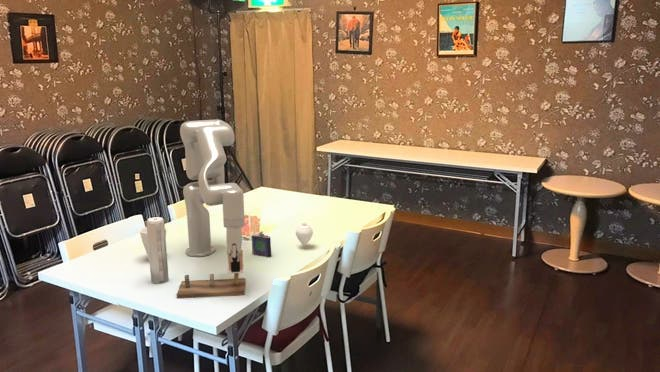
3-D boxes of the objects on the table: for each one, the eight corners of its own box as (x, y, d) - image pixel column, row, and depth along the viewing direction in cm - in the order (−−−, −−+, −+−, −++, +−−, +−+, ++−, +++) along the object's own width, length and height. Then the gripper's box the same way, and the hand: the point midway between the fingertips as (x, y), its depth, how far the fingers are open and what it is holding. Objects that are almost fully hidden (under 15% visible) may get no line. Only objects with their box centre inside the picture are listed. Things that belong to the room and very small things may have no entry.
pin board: (181, 284, 210) (180, 269, 208) (245, 281, 212) (245, 267, 211) (176, 298, 198) (175, 282, 197) (244, 295, 201) (243, 279, 199)
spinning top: (314, 245, 252) (313, 220, 249) (311, 251, 245) (311, 225, 242) (297, 244, 253) (296, 219, 250) (294, 250, 245) (294, 224, 243)
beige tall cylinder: (170, 277, 217) (166, 216, 211) (166, 283, 210) (161, 221, 205) (153, 277, 217) (148, 216, 211) (149, 284, 210) (143, 221, 204)
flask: (251, 254, 241) (250, 231, 238) (254, 252, 243) (254, 229, 241) (269, 258, 237) (268, 234, 234) (272, 255, 239) (272, 232, 237)
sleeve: (229, 268, 207) (228, 250, 205) (243, 267, 207) (243, 249, 206) (228, 273, 202) (227, 255, 200) (243, 272, 202) (242, 254, 200)
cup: (160, 265, 229) (158, 234, 226) (137, 263, 231) (135, 232, 228) (172, 256, 239) (170, 226, 236) (150, 254, 241) (148, 224, 238)
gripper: (225, 215, 208) (227, 260, 212) (221, 229, 191) (224, 278, 196) (245, 214, 209) (247, 259, 213) (243, 228, 192) (245, 277, 196)
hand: (236, 268), depth 204 cm, fingers closed on sleeve, 5 cm apart
